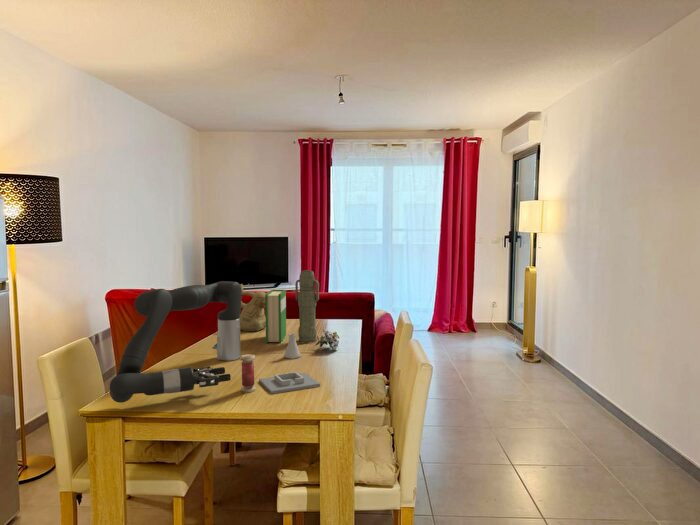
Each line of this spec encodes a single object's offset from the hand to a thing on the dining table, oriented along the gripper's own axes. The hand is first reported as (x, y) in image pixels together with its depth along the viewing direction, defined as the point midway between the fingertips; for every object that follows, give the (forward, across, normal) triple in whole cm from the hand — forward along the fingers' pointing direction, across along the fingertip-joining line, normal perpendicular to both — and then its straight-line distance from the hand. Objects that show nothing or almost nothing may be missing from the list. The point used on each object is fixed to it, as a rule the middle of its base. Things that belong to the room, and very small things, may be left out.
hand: (227, 373), depth 168 cm
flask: (+36, +34, +7) cm, 50 cm away
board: (+22, 0, +7) cm, 23 cm away
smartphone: (+14, +71, +8) cm, 73 cm away
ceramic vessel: (+36, +99, +8) cm, 106 cm away
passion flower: (+54, +38, +8) cm, 66 cm away
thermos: (+53, +59, +8) cm, 80 cm away
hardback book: (+40, +70, +8) cm, 81 cm away
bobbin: (+7, 0, +7) cm, 10 cm away
